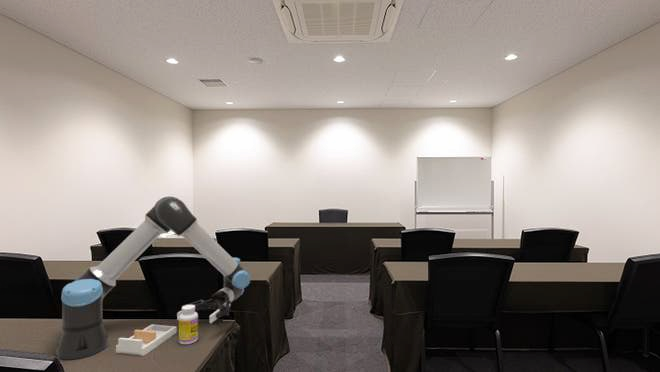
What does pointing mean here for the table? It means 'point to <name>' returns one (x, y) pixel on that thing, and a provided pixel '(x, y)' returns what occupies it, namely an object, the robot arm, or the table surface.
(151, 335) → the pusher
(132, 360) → the table surface
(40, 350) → the table surface
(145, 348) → the tray
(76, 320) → the robot arm
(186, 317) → the supplement bottle
